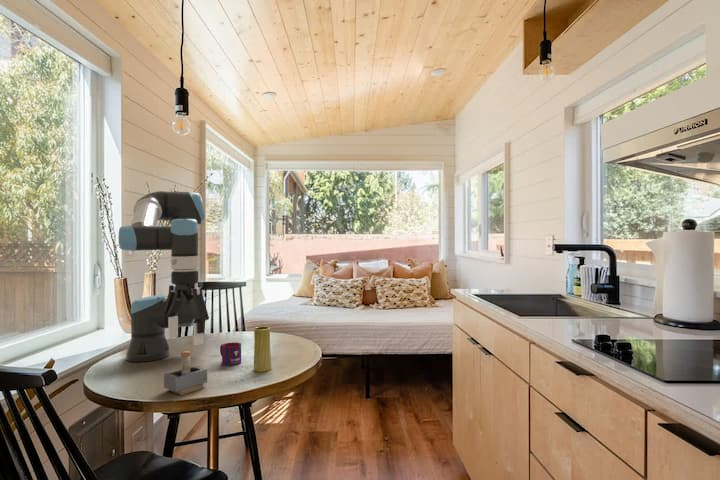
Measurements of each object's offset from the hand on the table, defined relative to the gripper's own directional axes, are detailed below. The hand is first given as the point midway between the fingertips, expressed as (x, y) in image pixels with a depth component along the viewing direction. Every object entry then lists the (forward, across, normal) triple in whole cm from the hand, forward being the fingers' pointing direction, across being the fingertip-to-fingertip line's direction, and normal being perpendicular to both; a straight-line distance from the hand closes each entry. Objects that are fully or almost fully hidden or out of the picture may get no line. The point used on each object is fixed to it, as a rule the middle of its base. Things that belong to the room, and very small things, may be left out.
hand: (185, 340), depth 124 cm
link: (+13, +1, 0) cm, 13 cm away
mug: (+15, -12, +25) cm, 31 cm away
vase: (+15, +5, +26) cm, 30 cm away
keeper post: (+14, +1, 0) cm, 14 cm away
